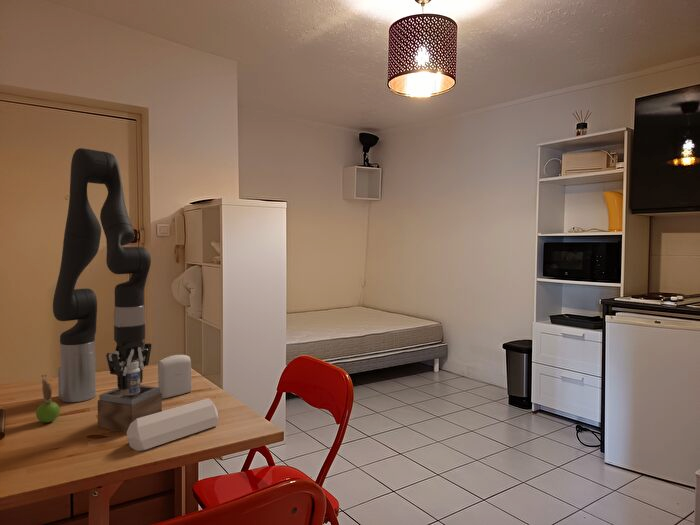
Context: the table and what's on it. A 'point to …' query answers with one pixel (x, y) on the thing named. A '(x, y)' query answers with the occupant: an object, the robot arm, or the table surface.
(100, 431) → the table surface
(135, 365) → the pill bottle
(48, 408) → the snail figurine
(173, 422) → the crystal
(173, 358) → the photo printer
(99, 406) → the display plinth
